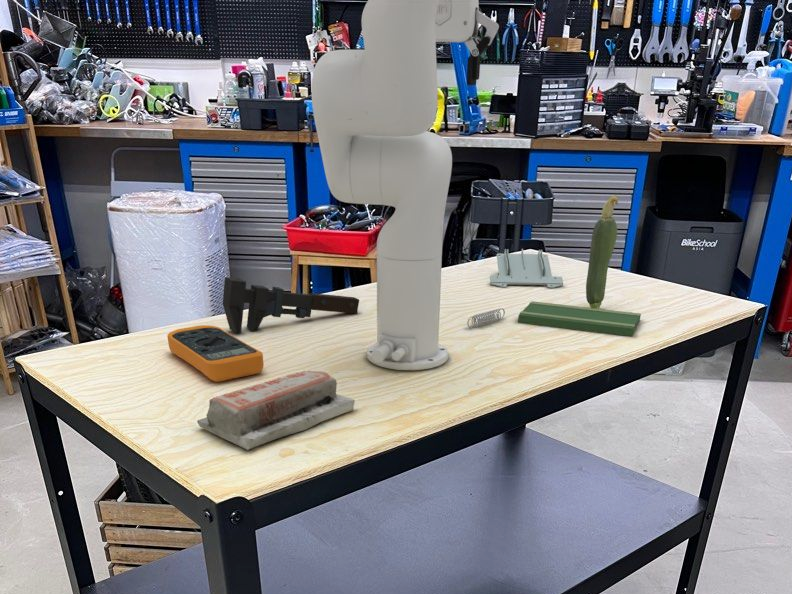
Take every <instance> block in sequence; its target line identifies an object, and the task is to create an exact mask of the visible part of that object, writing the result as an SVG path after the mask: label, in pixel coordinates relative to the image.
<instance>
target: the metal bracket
mask: <svg viewBox="0 0 792 594" xmlns="http://www.w3.org/2000/svg"><path fill="white" fill-rule="evenodd" d="M520 252H521V253H509V249H508V248H507V249H506V248H505V249H504V253H496V264H497V271H498V274H497V275H495V274H491V275H489V282H490V285H493V286H497V287H500V288H507V286H508V285H526V286H527V285H530V286H547V288H548V289H555V288H558V287H562V286H564V280H563V277H562V276H555V275H554V276H553V273H552V268H551V264H550V259H549V255H548V254H547V253H546V254H545V253H544V254H543V249H538V253H524V248H521V251H520Z"/></svg>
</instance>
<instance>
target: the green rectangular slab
mask: <svg viewBox="0 0 792 594" xmlns="http://www.w3.org/2000/svg"><path fill="white" fill-rule="evenodd" d="M641 316H642V313H639V312H629V311H621V310H611V309H604V308H597V309H595V308H591V307H588V306H587V307H586V306H576V305H569V304H561V303H560V304H559V303H550V302H544V301H543V302H542V301H533V300H531V301H529V303H528V305H526V307H525V308H524V309H523V310H521V311H520V312H519V313H518V316H517V317H518V318H517V323H519V324H528V325H535V326H543V327H550V328H559V329H569V330H575V331H576V330H577V331H585V332H593V333H601V334H610V335H617V336H624V337H633V336H634V333H635V332H636V330H637V328H638V325H639V323H640V322H641Z"/></svg>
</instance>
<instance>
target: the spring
mask: <svg viewBox="0 0 792 594" xmlns="http://www.w3.org/2000/svg"><path fill="white" fill-rule="evenodd" d="M501 310H502V311H503V314H502V313H501V312H500V311H501ZM505 312H506V311H505V309H504V308H502V307H501V308H496V309H492V310H489V311H485V312H481V313H478V314H474V315H471V316H470V317H469V318H468V320H467V324H466V325H467V327H468V328H469V329H472V328H473V327H475V328H477V327H478V328H479V327H481V326H484V325H488V324H491V323H495V322H498V321H500V320H502V319H504V317H505V314H506V313H505ZM470 320H471V324H472V326H470Z"/></svg>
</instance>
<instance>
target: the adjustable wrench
mask: <svg viewBox="0 0 792 594" xmlns="http://www.w3.org/2000/svg"><path fill="white" fill-rule="evenodd" d="M222 295H223V297H222V307H223V310H224V315H225V316H226V317H225V318H226V320H227V324H228V328H229V330H231V331H232V332H233V333H235V334H242V329H243V328H242V327H243V318H244V317H243V315H244V310H245V309H244V308H245V304H248V312H247V320H246V328H247V329H249V330H250V331H252V332H258V329H259V328H260V326H261V324H262V322H263V320H264V318H267V317H269V316H271V317H273V318H281V316H282V315H290V316H295V318H297V319H305V318H311V315H312V311H318V312H320V311H321V312H330V313H331V312H332V313H342V314H343V313H345V314H355V315H357V314H358V312H359V311H358V310H359V304H360V299H359V298H357V297H354V296H348V295H347V296H346V295H335V294H325V293H315V292H309V293H299V292H287V291H285V289H284V288H282V287H279V286H272V289H271V290H270V288H268V287H266V286H264V285H259V284H251V285H250V288H247V281H246V280H243V279H241V278H238V277H228V276H225V277H224V284H223V294H222ZM284 307H290V308H284Z"/></svg>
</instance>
